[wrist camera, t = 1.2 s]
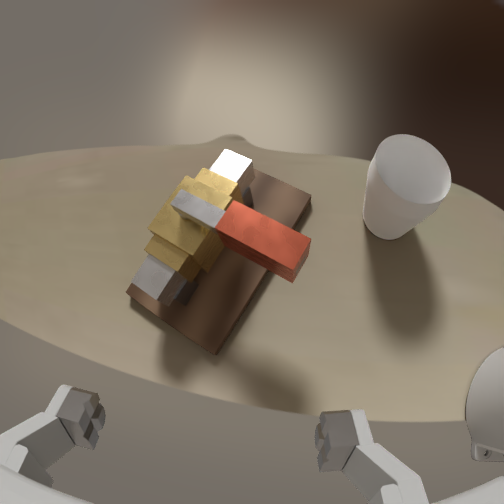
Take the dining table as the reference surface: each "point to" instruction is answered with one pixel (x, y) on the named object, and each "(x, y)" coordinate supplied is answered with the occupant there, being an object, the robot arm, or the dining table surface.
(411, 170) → the cup
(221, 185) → the valve
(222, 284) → the board
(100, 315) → the dining table surface
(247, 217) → the lever
